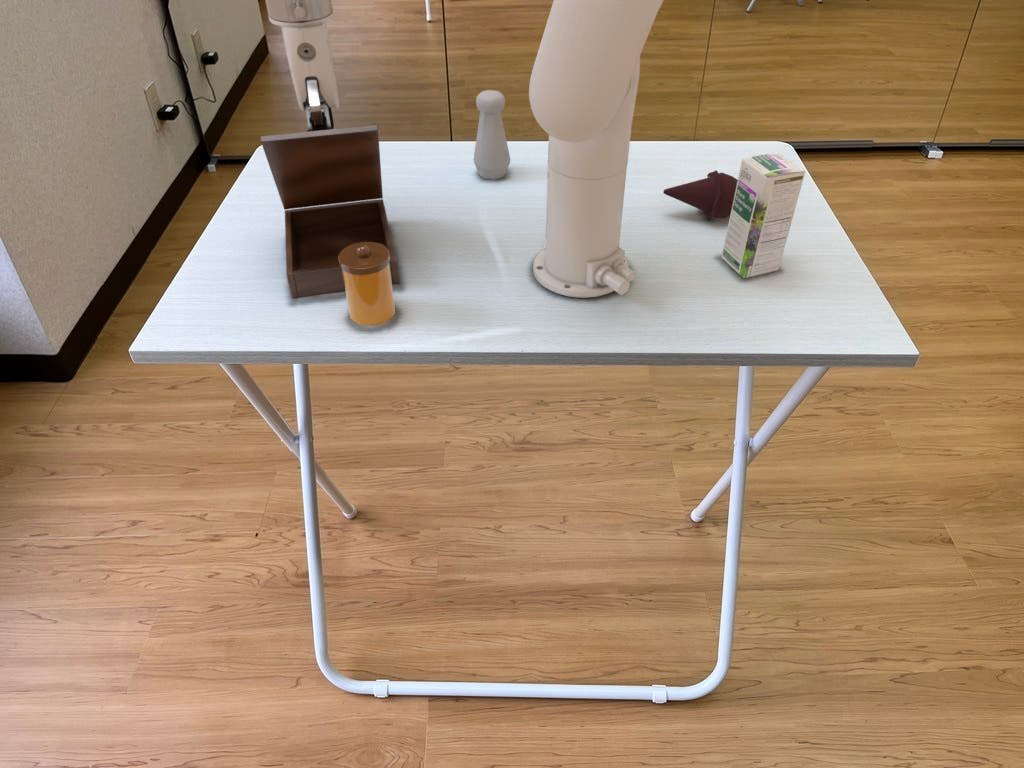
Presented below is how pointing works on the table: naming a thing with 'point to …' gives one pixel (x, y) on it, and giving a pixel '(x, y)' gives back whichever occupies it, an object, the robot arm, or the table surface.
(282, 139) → the chest lid
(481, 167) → the salt shaker
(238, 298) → the table surface
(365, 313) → the honey pot
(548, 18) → the robot arm
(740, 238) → the syrup box
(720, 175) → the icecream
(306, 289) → the chest
